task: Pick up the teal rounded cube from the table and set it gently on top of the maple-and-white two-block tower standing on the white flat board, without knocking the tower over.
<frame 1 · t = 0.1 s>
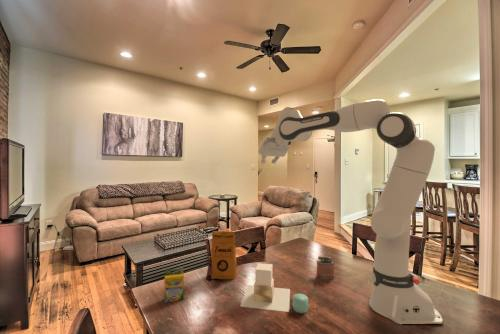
hand: (268, 163, 125), 54 cm above the table, tool tilted 30°, fingers open, 8 cm apart
coffee package: (224, 277, 115), on the table
crayon box: (174, 300, 96), on the table
white block: (264, 281, 96), point 7 cm above the table, touching maple block
white flat board: (266, 299, 96), on the table
teal rounded cube: (300, 311, 88), on the table
maple block: (264, 296, 96), point 1 cm above the table, touching white flat board, white block
lighter: (325, 277, 115), on the table
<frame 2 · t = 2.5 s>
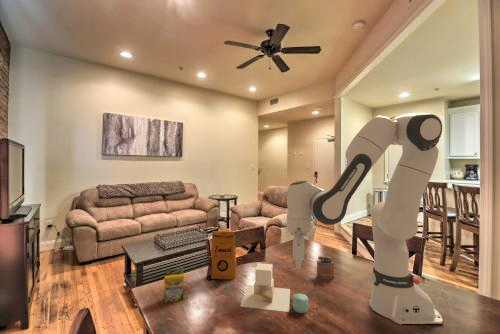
hand: (298, 262, 89), 18 cm above the table, tool pointing down, fingers open, 8 cm apart
nothing on the table moved.
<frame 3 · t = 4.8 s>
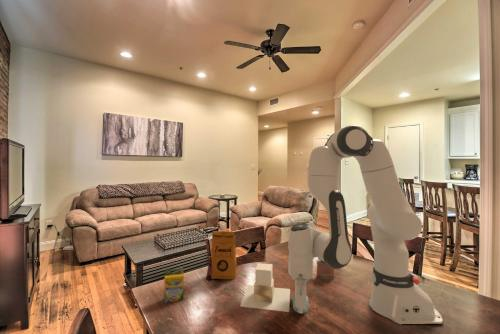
hand: (300, 306, 88), 2 cm above the table, tool pointing down, fingers closed on teal rounded cube, 5 cm apart
teal rounded cube: (300, 310, 88), on the table, touching gripper
everything else where it was.
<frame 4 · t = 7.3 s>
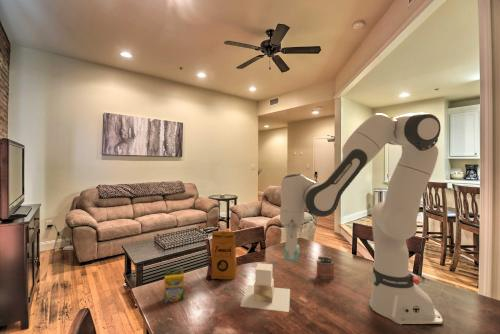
hand: (291, 254, 89), 20 cm above the table, tool pointing down, fingers closed on teal rounded cube, 5 cm apart
teal rounded cube: (291, 259, 89), point 19 cm above the table, touching gripper
everything else where it was.
when the fingers open (16 cm above the table, at t = 10.1 s): teal rounded cube stays where it is, resting on white block.
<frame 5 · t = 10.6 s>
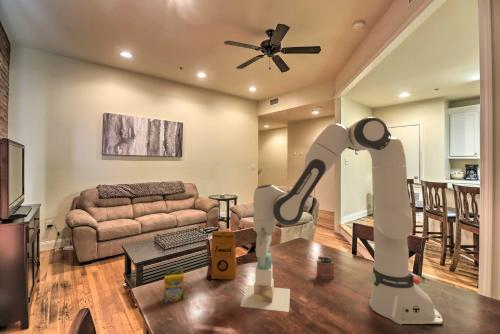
hand: (264, 260, 96), 16 cm above the table, tool pointing down, fingers open, 8 cm apart
white block: (264, 281, 96), point 7 cm above the table, touching maple block, teal rounded cube
teal rounded cube: (264, 266, 96), point 13 cm above the table, touching white block
everything else where it was.
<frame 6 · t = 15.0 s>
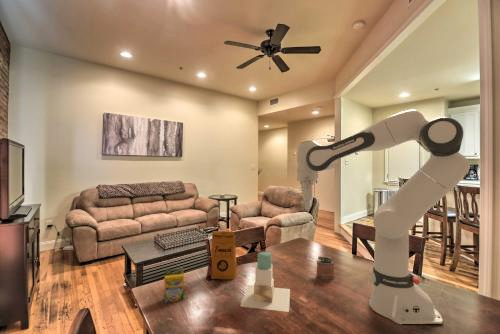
hand: (306, 207, 110), 34 cm above the table, tool pointing down, fingers open, 8 cm apart
nothing on the table moved.
at the end: teal rounded cube 0.1 cm off-centre on the white block, point 6.0 cm above the white block's base; white block 0.0 cm off-centre on the maple block, point 6.0 cm above the maple block's base; maple block moved 0.0 cm from its start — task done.
